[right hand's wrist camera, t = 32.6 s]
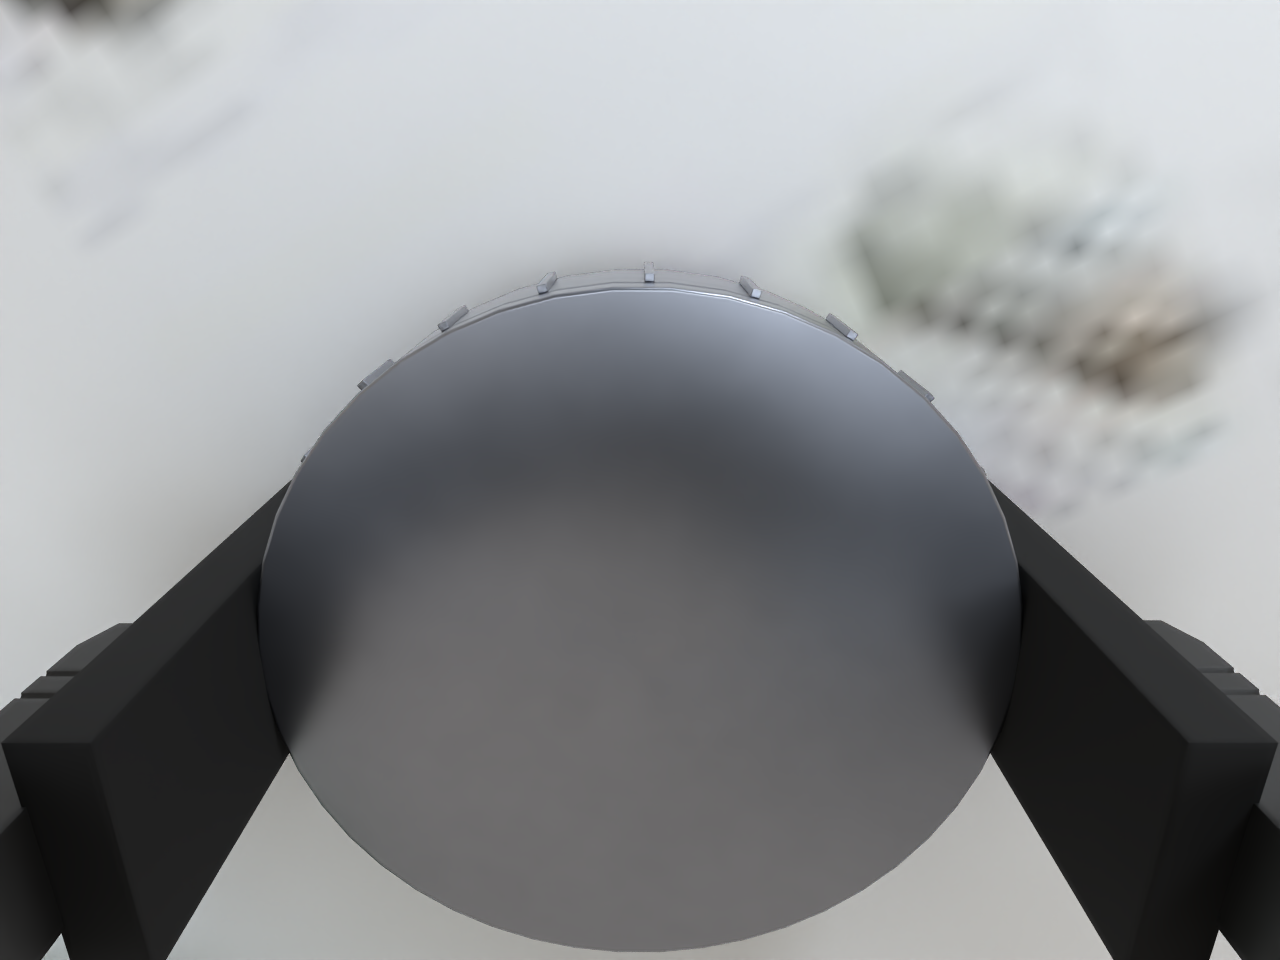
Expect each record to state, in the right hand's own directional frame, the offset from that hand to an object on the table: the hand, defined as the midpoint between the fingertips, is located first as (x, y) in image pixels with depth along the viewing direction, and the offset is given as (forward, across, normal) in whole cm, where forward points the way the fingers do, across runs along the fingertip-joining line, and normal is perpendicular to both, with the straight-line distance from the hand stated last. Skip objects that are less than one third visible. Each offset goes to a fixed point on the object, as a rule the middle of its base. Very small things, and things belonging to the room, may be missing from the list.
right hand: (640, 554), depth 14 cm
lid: (-3, 0, 0) cm, 3 cm away
